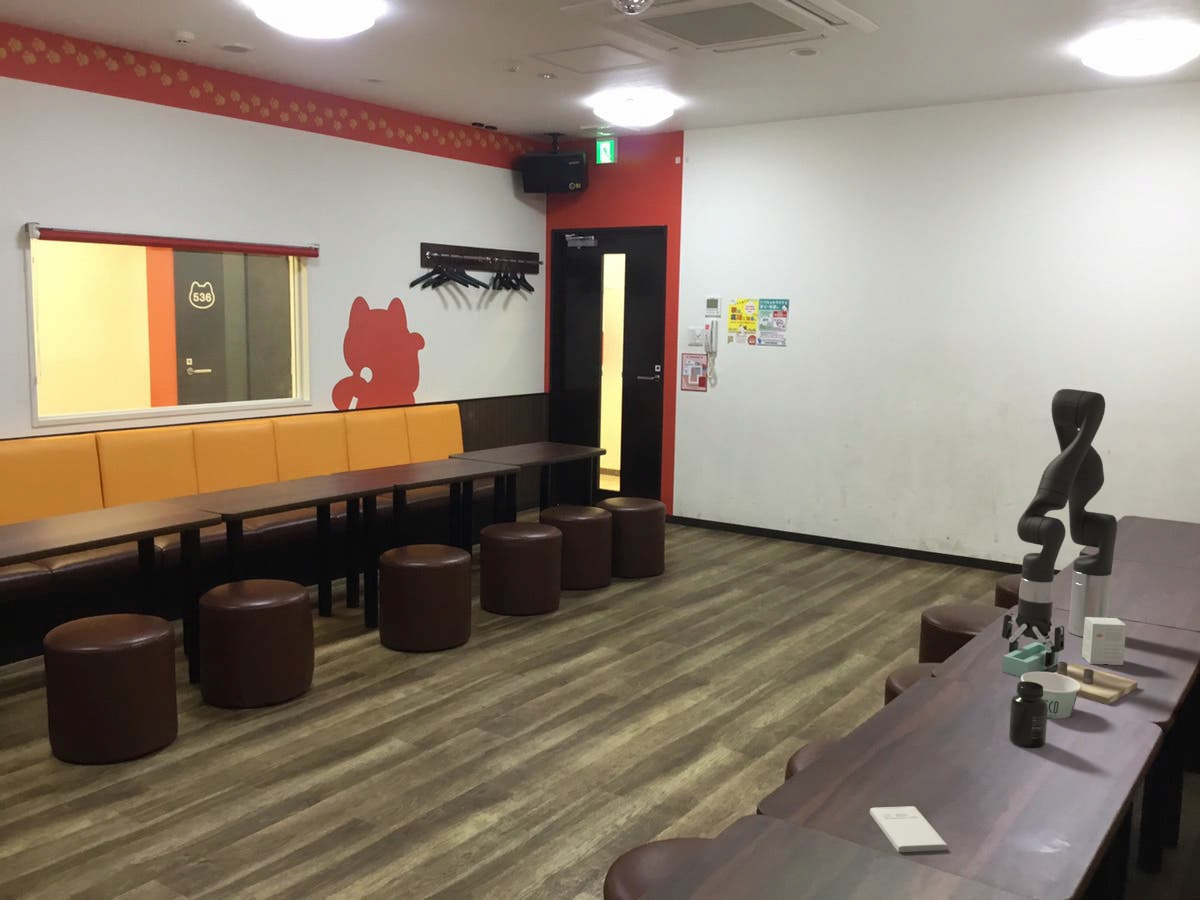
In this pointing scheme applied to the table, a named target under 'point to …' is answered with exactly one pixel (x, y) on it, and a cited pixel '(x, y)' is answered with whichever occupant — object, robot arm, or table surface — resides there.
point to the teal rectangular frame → (1026, 660)
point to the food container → (1056, 692)
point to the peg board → (1097, 683)
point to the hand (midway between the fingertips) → (1030, 661)
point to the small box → (1104, 640)
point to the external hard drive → (907, 829)
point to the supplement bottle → (1028, 716)
